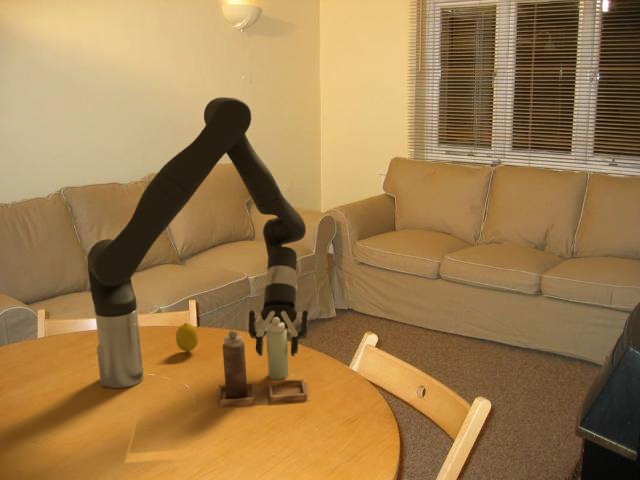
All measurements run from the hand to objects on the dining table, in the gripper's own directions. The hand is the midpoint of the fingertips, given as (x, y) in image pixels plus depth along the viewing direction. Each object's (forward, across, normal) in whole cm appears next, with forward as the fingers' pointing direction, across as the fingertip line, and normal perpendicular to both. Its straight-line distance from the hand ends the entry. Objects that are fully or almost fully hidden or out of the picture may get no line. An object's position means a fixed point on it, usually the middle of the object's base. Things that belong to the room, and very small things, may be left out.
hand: (276, 354), depth 164 cm
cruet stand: (+11, -2, -1) cm, 11 cm away
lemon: (-7, -25, +17) cm, 31 cm away
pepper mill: (+11, -8, -3) cm, 13 cm away
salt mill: (+4, 0, +6) cm, 7 cm away
